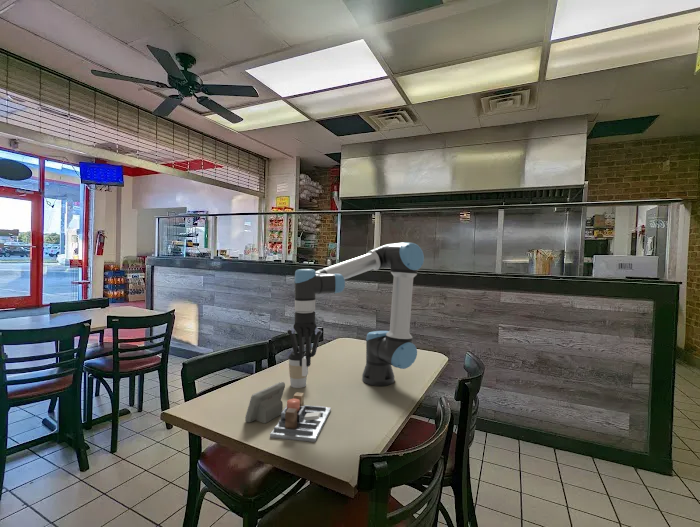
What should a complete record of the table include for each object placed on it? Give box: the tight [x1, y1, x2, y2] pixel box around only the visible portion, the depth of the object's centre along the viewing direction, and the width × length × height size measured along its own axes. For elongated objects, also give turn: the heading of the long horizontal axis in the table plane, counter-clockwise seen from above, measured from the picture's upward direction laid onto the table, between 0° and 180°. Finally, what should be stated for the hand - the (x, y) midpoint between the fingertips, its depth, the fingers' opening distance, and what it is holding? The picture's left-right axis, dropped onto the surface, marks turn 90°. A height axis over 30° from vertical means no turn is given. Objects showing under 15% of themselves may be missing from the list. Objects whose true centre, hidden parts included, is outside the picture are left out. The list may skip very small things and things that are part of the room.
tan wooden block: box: [292, 392, 305, 406], centre depth 126 cm, size 3×3×6 cm
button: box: [286, 398, 300, 412], centre depth 120 cm, size 4×4×3 cm
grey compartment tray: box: [269, 404, 332, 443], centre depth 119 cm, size 15×22×4 cm
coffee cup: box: [287, 351, 308, 389], centre depth 154 cm, size 9×9×15 cm
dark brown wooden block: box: [285, 408, 297, 429], centre depth 113 cm, size 3×3×6 cm
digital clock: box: [244, 381, 286, 424], centre depth 124 cm, size 16×9×11 cm, turn 137°
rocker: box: [304, 412, 321, 420], centre depth 119 cm, size 5×3×1 cm, turn 80°
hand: (305, 374), depth 126 cm, fingers closed
